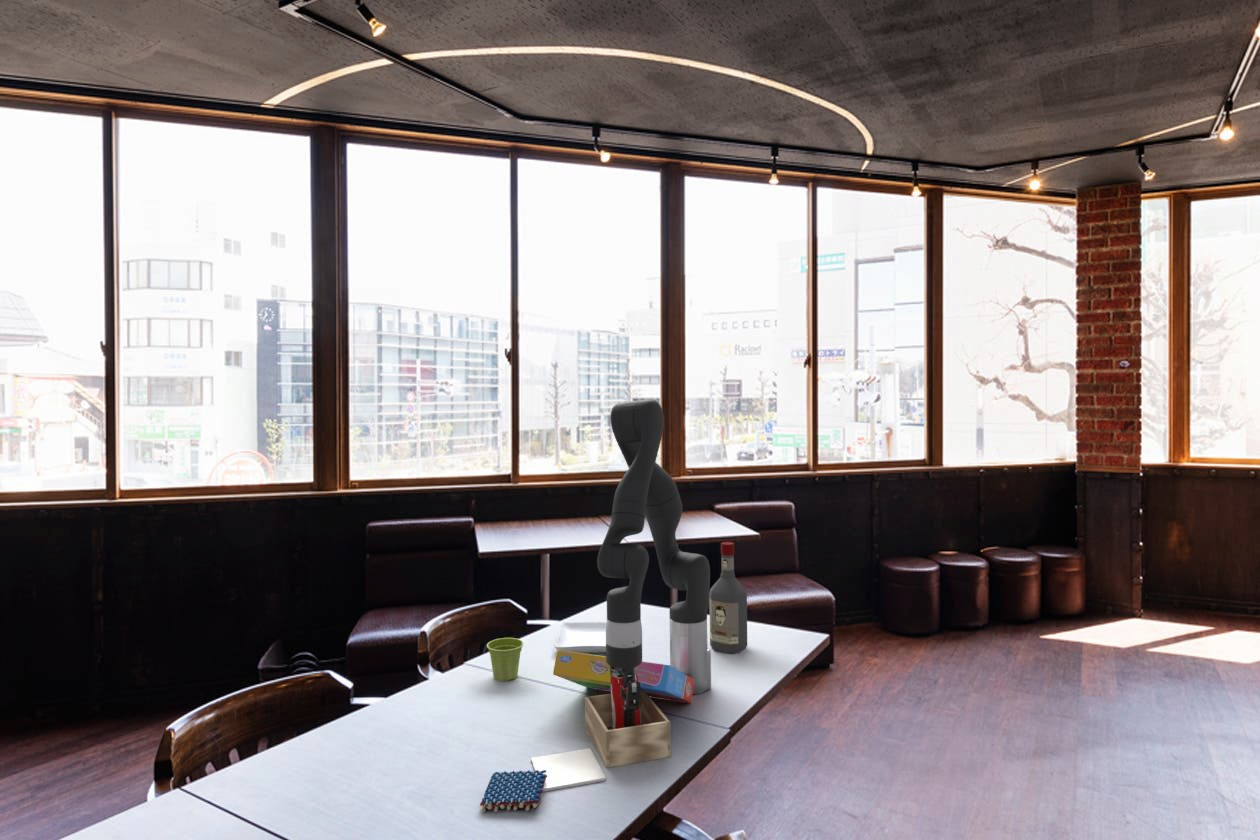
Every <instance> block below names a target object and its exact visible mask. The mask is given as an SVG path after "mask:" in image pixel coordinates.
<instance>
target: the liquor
mask: <svg viewBox="0 0 1260 840" xmlns="http://www.w3.org/2000/svg"><path fill="white" fill-rule="evenodd" d="M720 554H721V573H720V577H719V578H718V579H717V581H716V582H714V584H713V585H712V586H711V588H710V590H709V645H710V647H711V649H712V650H713V651H714V652H718V653H723V654H725V655H726V654H727V655H737V654H740V653H741V652H743V651H744V650H746V648H747V647H748V593H747V590H746V588H745V587H744V586H743V585H742V583H741V582H740V581H739V580H738V579H737V578H736V574H735V563H734V562H735V561H734V560H735V558H734V557H735V556H734V555H735V543H734V542H730V541H726V542H725V541H723V542H721V543H720Z"/></svg>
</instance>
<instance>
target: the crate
mask: <svg viewBox="0 0 1260 840" xmlns="http://www.w3.org/2000/svg"><path fill="white" fill-rule="evenodd" d="M639 706H640V723H642V724H641V725H638V726H632V727H626V728H619V729H613V728H612V729H608V728H609V727H613V717H612V700H611V693H606V694H599V695H590V696H585V697H584V721H585V725H584V727H585V729H584V730H585V731H586V733H587V735H588V736H589V738H590V740H591V742H592V744H593V746H594V747H595V748H594V749H596V752H598V756H600V758H601V760H602V762H603V764H604V765H605V767H606V768H607V769H608V768H612V767H618V766H619V767H620V766H625V765H629V764H630V765H631V764H635V763H642V762H646V761H647V762H648V761H653V760H659V759H664V758H670V757H671V721H670V720H669V719H668V718H667V716H666V715H665V714H664V713H663V711H662V710H661V709H660V708H659V706H658V705H657V704H656V703H655V702H654V701H653V700H652V697H649V696H648V695H647V693H646V692H645V691H644V690H643V689H640V699H639Z"/></svg>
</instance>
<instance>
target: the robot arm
mask: <svg viewBox="0 0 1260 840" xmlns="http://www.w3.org/2000/svg"><path fill="white" fill-rule="evenodd" d="M609 418H610V419H609V420H610V425H611V430H612V433H613V436H614V439H615V442H616V443H617V446H618V448H619V450H620V452H621V454H622V456H623V458H624V460H625V463H626V465H627V467H628V469H627V470H626V472H625V473H624V475H623V476H622V478H621V479H620V481H619V483H618V484H617V488H616V490H615V492H614V497H613V502H612V512H611V517H610V518H611V520H610V523H609V526H608V529H607V532H606V535H605V537H604V539H603V541H602V544H601V546H600V548H599V552H598V554H597V558H596V563H597V565H596V566H597V569H598V571H599V573H600V574H601V575H602V576H603V577H605V578H610V579H611V578H612V579H625V580H626V579H627V580H629V583H628V586H627V585H626V586H622V587H616V588H614V589H610V590H609V591H608V592H607V593H606V594H607V595H606V622H607V624H606V653H605V656H606V662H607V664H608V665H609V666H610V678H611V675H612V671H613V670H615V669H616V671H613V672H614V673H615V672H618V673H619V674H620V675H616V676H617V677H621V678H623V687H624V688H625V689H626V694H624V693H623V688H622V687H621V686H620V698H621V699H622V701H623V711H624V727H625V728H626V727H632V726H635V710H639V699H640V682H639V681H638V682H635V681H634V680H636V674H635V673H634V668H635V667H636V666H638V665H640V664H641V663H642V661H643V627H642V626H643V625H642V620H641V619H642V618H641V617H642V616H641V613H642V609H641V602H642V601H641V599H642V592H643V587H644V581H645V578H646V574H647V571H648V567H649V563H650V556H649V552H648V550H647V549H646V547H645V546H643V545H641V544H637V543H636V544H634V543H621V542H622V541H624V539H625V538H626V537H629V536H634V535H639V534H640V533H642V532H643V531H644V527H645V519H646V521H647V524H648V527H649V531H650V534H651V537H652V539H653V544H654V547H655V551H656V556H657V560H658V565H659V569H660V574H661V577H662V580H663V582H664V583H665V585H666V586H668V587H669V588H670V589H674V590H679V591H685V592H686V599H685V600H684V601H678V602H676V603H673V604H671V606H670V607H669V661H670V662H669V663H670V664H669V665H670V666H671V667H673V668H675V669H677V670H678V671H680V672H682V673H683V674H685V675H687V676H689V677H690V678H692V679H693V680H694V687H693V694H692V695H698V694H702V693H704V692H707V691H708V690H711V689H712V664H711V663H712V662H711V661H712V656H711V655H712V653H711V650H710V649H709V648H708V611H709V607H710V604H709V592H710V589H711V588H710V586H711V585H710V583H711V566H710V563H709V559H708V558H707V557H706V556H705V555H704V554H703V555H702V554H699V553H694V552H693V553H692V552H688V551H687V552H685V551H682V550H681V549H680V547H679V544H678V542H677V537H676V531H677V528H678V526H679V523H680V522H681V519H682V518H681V517H682V514H683V503H682V500H681V495H680V492H679V490H678V487H677V484H676V481H675V480H674V479H673V477H672V476H671V475H670V474H669V473H668V472H667V471H666V470H665V469H664V468H663V467H662V466H660V464H659V463H658V462H656V461H657V457H658V455H659V454H658V453H659V449H660V446H661V443H662V438H663V433H664V429H665V428H664V427H665V416H664V411H663V408H662V406H661V404H660V403H659V402H658V401H657V400H655V399H640V400H633V401H632V400H630V401H623V402H619V403H615V405H613V406H612V408H611V411H610V417H609ZM634 674H635V675H634ZM618 683H619V680H618ZM631 700H632V703H631V704H630V701H631Z"/></svg>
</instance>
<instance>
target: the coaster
mask: <svg viewBox="0 0 1260 840" xmlns="http://www.w3.org/2000/svg"><path fill="white" fill-rule="evenodd" d="M530 762H531V764H532V767H533V771H536V770H538V771H540V770H541V771H543V770H546V773H544V774H546V775H547V777H546V781H545V784H544V786H543V788H542V789H543V792H549V791H554V790H561V789H566V788H571V787H576V786H582V785H587V784H593V783H597V782H598V783H599V782H604V781H606V779H607V778H606V776H605V774H604V772H603V770H602V768H601V766H600V765H599V763H598V761H597V759H596V757H595V755H594V754H593V751H592V750H591V748H585V749H584V748H583V749H578V750H571V751H570V750H569V751H565V752H559V753H554V754H553V753H552V754H548V755H547V754H546V755H541V756H533V757H530ZM542 774H543V773H542ZM543 792H542V793H543Z"/></svg>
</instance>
